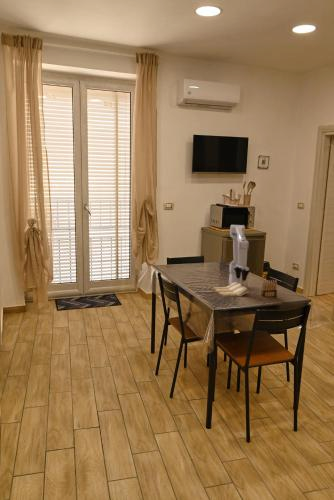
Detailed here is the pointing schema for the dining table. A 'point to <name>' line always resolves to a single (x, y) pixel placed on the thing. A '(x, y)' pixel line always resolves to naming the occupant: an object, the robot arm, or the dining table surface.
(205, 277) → the dining table surface
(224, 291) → the laid oak boards
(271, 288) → the ammunition clip
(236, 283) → the ash plank
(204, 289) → the dining table surface
